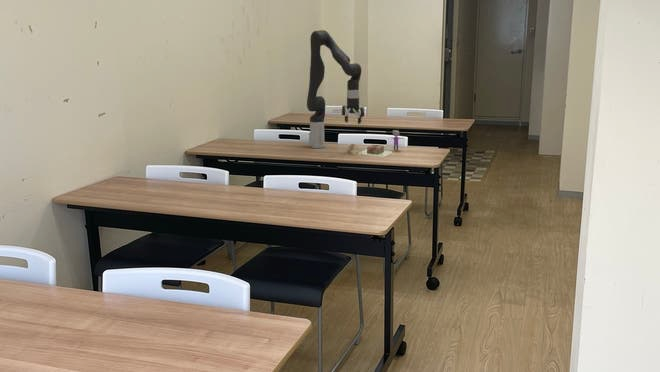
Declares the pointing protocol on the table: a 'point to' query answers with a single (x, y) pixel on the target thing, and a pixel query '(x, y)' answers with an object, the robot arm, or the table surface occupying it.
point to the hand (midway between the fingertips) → (352, 122)
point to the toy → (396, 139)
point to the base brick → (375, 149)
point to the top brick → (352, 148)
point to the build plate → (376, 154)
